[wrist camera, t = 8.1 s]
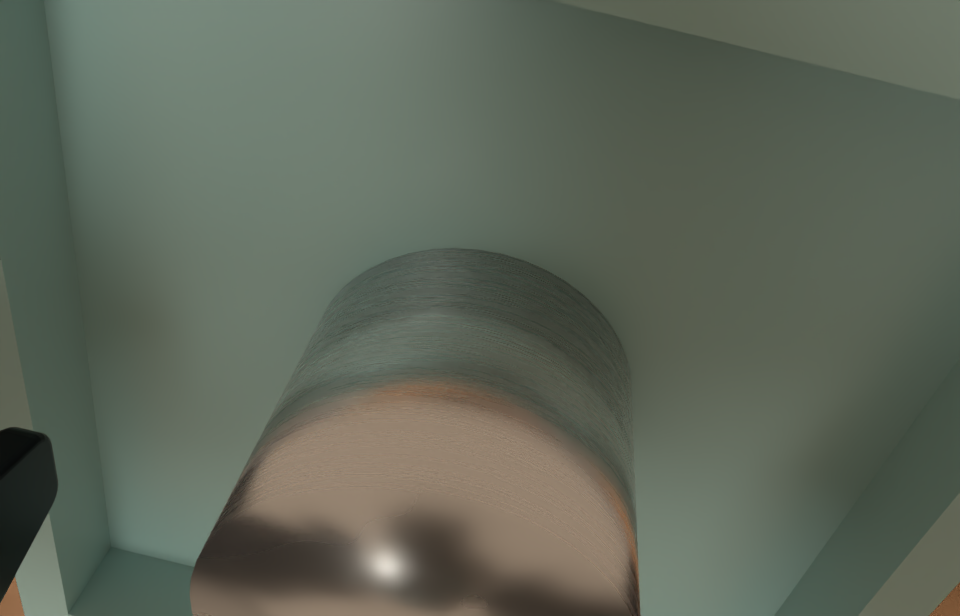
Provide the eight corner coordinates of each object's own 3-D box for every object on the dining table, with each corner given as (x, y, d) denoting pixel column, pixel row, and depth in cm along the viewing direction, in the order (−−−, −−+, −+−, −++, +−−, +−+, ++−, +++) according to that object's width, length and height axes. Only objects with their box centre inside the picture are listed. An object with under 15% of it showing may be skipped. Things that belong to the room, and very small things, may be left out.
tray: (739, 694, 15) (755, 805, 14) (90, 537, 15) (27, 629, 14) (1239, 29, 8) (1403, 97, 6) (-31, -280, 8) (-198, -292, 6)
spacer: (581, 526, 12) (572, 798, 9) (302, 459, 12) (193, 709, 9) (678, 295, 10) (714, 560, 7) (325, 211, 10) (184, 435, 7)
